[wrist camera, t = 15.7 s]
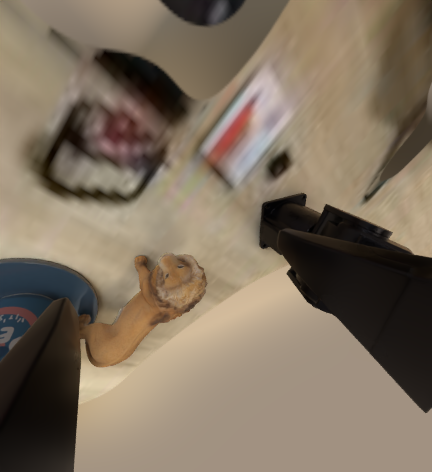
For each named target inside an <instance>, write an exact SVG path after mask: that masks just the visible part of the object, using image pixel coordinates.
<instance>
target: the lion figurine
mask: <svg viewBox="0 0 432 472" xmlns="http://www.w3.org/2000/svg"><path fill="white" fill-rule="evenodd" d="M146 264H147V259H146V258H145V256H139V257H136V258H135V267H136V269H137V271H138V273H139V281H140V289H141V291H140V292H139V293H137V294H136V295H135V296H134V297H133V298H132V299H131V300H130V301H129V303H128V304H127V305H126V306H124V307H122V308H121V309H120V310H119V312H118V314H117V316H116V318H115V320H114V322H113V324H112V325H108V324H104V323H93V324H90V325H87V324H88V323H89V322H90V320H91V317H90V315H86V314H84V315H81V316H79V317H78V319H79V334H80V339H85V341H86V342H85V344H86V352H87V356H88V358H89V361H90V362H91V363H92V364H93V365H94V366H96V367H107V366H112V365H115V364H118V363H120V362H122V361H124V360H125V359H127V358H128V357H130V356H131V355H132V353H133V352H134V351H135V349H136V348H137V346H138V345H139V344H140V342H141V341H142V340H143V339H144V337H145V336H146V335H147V334H148V333H149V332H150V331H151V330H152V329H153V328H154V327H155V326H156V325H157V324H158V323H166V322H169V321H170V320H172V319H175V318H176V317H177V316H178V317H180V316H181V315H182V314H184V313H186V312H189V311H190V309H192V308H194V306H195V304H197V303H198V302H199V301H200V300H201V298H202V297H203V296H204V294H205V287H206V286H207V282H206V276H205V273H204V269H203V268H202V267H200V266H199V265H198V263H197V261H196V260H195V259H194V258H193V257H192V256H191V255H186V254H184V255H178V256H175V255H174V254H172V253H164V254H163V255H162V256H161V258H160V259H159V261H158V266H156V268H155V269H153V270H152V271H151V272H150V271H149V270H148V269H147V266H146Z"/></svg>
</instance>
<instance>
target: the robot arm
mask: <svg viewBox="0 0 432 472" xmlns="http://www.w3.org/2000/svg"><path fill="white" fill-rule="evenodd" d="M306 198H307V195H306V194H304V193H300V194H296V195H292V196H288V197H284V198H280V199H276V200H272V201H268V202H265V203H264V204H263V205H262V215H261V227H260V247H261V248H262V249H264V248H267V247H271V248H272V249H274V250H275V251H276V252H277V253H278V254H280V255H283V256H284V258H285V259H286V260H287V262H288V263H289V264H290V266H291V268H290V270H288V272H287V275H288V276H289V278H290V279H291V280H292V282H293V283H294V285H295V286H296V287H297V289H298V290H299V291H300V293H301V294H302V295H303V297H304V298H305V299H306V301H307V302H308V303H310V304H311V305H312V306H313V307H315V308H318V309H320V310H322V311H324V312H326V313H330V314H333V315H334V316H336V317H337V318H338V319H339V320H340V321H341V322H342V323H343V325H344V326H345V327H346V328H347V329H348V330H349V331H350V332H351V333H352V334H353V336H355V338H356V339H357V340H358V341H359V342H360V343H361V344H362V345H363V346H364V347H365V349H366V350H367V351H368V352H369V353H370V354H371V355H372V356H373V357H374V359H375V360H376V361H377V362H378V363H379V364H380V365H381V366H382V367H383V368H384V369H385V371H387V373H388V374H389V375H390V376H391V377H392V378H393V379H394V380H395V381H396V383H398V385H399V386H400V387H401V388H402V389H403V390H404V391H405V392H406V393H407V395H408V396H409V397H410V398H411V399H412V400H413V401H414V402H415V403H416V404H417V405H418V406H419V407H420V408H421V409H422V410H423V411H424V412H425V413H427V412H428V411H429V410H430V409H431V408H432V258H430V257H425V256H419V255H414V254H413V253H412V251H411V250H410V249H408V248H407V247H404V246H402V245H400V244H398V243H396V242H393V241H391V240H389V238H390V236H391V235H392V233H393V232H391V231H389V230H386V229H384V228H382V227H380V226H378V225H376V224H373V223H371V222H369V221H367V220H364V219H362V218H359V217H357V216H355V215H352V214H350V213H348V212H345V211H343V210H340V209H337V208H335V207H332V206H330V205H327V204H326V205H325V207H324V210H323V212H322V214H320V213H318V212H316V211H314V210H312V209H310V208H308V207H306V206H305V203H306ZM266 206H267V207H266ZM80 369H81V349H80V334H79V319H78V314H77V312H76V310H75V308H74V307H73V305H72V303H71V302H70V300H69V299H68V298H66V297H64V298H61V299H58V300H55V301H53V302H52V303H51V304H50V305H49V306H48V307H47V308H46V310H45V311H44V312H43V313H42V314H41V315H40V316H39V318H38V319H37V320H36V321H35V322H34V323H33V325H32V326H31V327H30V328H29V329H28V330H27V331H26V333H25V334H24V335H23V336H22V337H21V338H20V339H19V341H18V342H17V343H16V344H15V345H14V346H13V347H12V349H11V350H10V351H9V352H8V353H7V354H6V355H5V357H4V358H3V359H2V360H1V361H0V472H74V457H75V443H76V428H77V413H78V399H79V384H80Z"/></svg>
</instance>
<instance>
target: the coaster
mask: <svg viewBox="0 0 432 472" xmlns="http://www.w3.org/2000/svg"><path fill="white" fill-rule="evenodd" d="M22 293H31V294H39V295H43V296H46V297H49V298H51V299H52V300H54V301H55V300H58V299H61V298H64V297H66V298H68V299H69V300H70V302H71V303H72V305H73V307H74V308H75V310H76V312H77V314H78V317H79V316H81V315H84V314H86V315H90V317H91V320H90V322H89V323H88V324H87V325H90V324H93V323H94V321H95V319H96V317H97V312H98V299H97V295H96V292H95V290H94V289H93V287H92V285H91V284H90V283H89V282H88V281H87V280H86V279H85V278H84V277H83V276H82V275H80V274H79V273H77V272H75V271H74V270H72V269H70V268H68V267H65V266H62V265H60V264H57V263H53V262H49V261H44V260H37V259H25V258H17V259H2V260H0V299H1V298H3V297H6V296H10V295H14V294H22Z"/></svg>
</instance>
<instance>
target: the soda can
mask: <svg viewBox="0 0 432 472" xmlns="http://www.w3.org/2000/svg"><path fill="white" fill-rule="evenodd" d="M53 301H54V300H52V299H51V298H49V297H46V296H43V295H39V294H31V293H22V294H14V295H10V296H6V297H3V298H1V299H0V361H1V360H2V359H3V358H4V357H5V355H6V354H7V353H8V352H9V351H10V350H11V349H12V347H13V346H14V345H15V344H16V343H17V342H18V341H19V339H20V338H21V337H22V336H23V335H24V334H25V333H26V331H27V330H28V329H29V328H30V327H31V326H32V325H33V323H34V322H35V321H36V320H37V319H38V318H39V316H40V315H41V314H42V313H43V312H44V311H45V310H46V308H47V307H48V306H49V305H50V304H51V303H52V302H53Z"/></svg>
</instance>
